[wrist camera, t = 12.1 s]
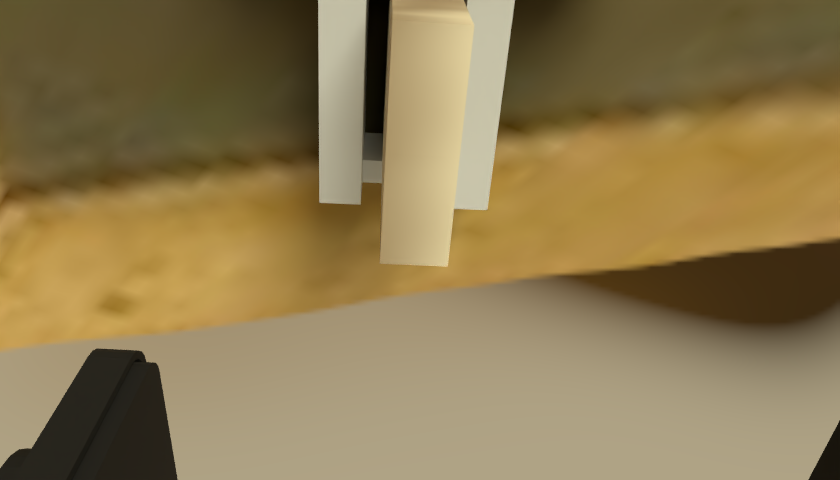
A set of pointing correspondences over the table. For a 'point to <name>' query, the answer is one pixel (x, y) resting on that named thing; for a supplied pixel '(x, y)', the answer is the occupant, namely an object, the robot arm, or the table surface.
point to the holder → (362, 152)
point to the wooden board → (423, 127)
